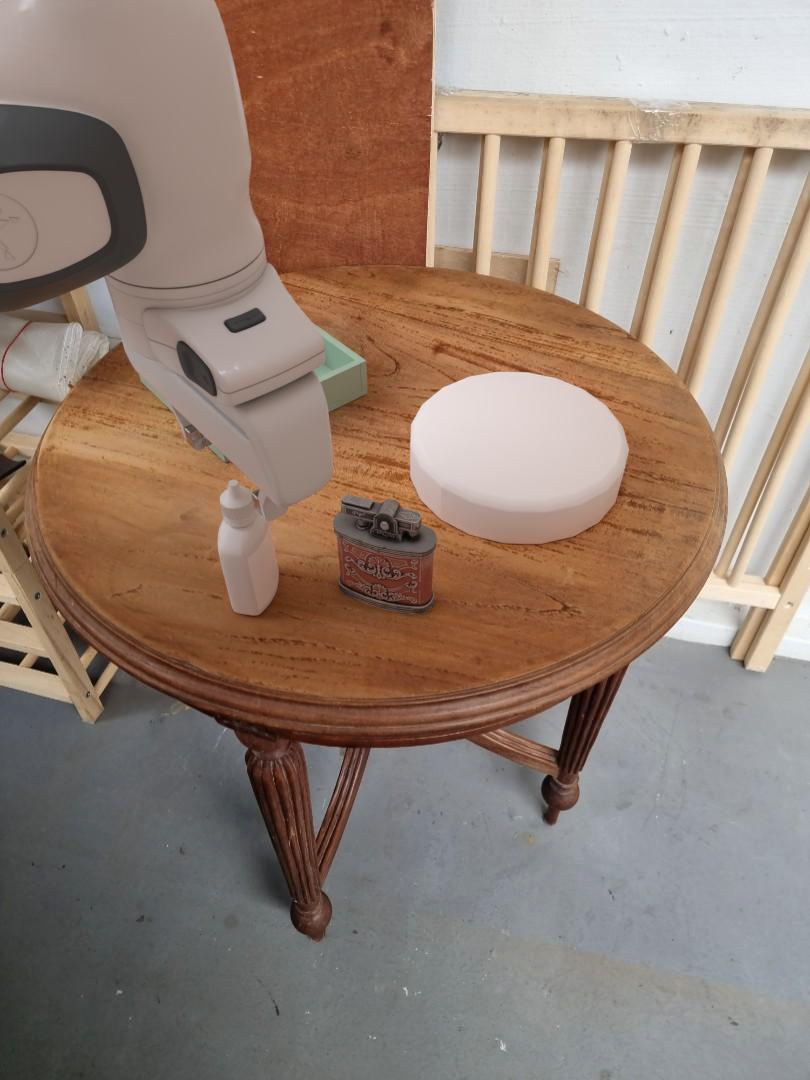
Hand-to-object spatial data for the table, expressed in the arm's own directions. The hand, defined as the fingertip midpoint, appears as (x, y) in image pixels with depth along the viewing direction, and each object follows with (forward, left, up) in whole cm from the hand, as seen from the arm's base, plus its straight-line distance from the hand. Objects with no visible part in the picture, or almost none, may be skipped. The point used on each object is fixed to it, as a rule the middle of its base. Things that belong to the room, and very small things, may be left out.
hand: (234, 475), depth 54 cm
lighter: (+8, -7, -13) cm, 16 cm away
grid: (+15, +24, -13) cm, 31 cm away
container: (+27, -3, -13) cm, 30 cm away
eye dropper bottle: (0, 0, -13) cm, 13 cm away
